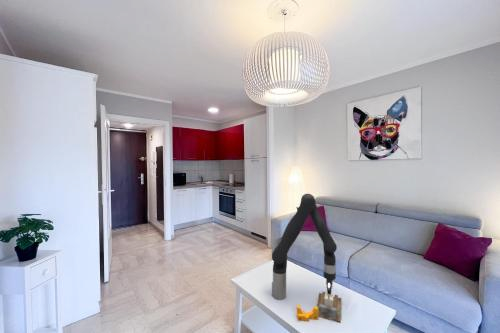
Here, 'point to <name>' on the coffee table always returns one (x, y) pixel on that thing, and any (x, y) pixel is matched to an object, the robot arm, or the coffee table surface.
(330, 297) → the white cube with stick
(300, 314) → the pipe clamp
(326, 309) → the gauge board
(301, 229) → the robot arm
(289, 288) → the coffee table surface
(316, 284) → the coffee table surface
